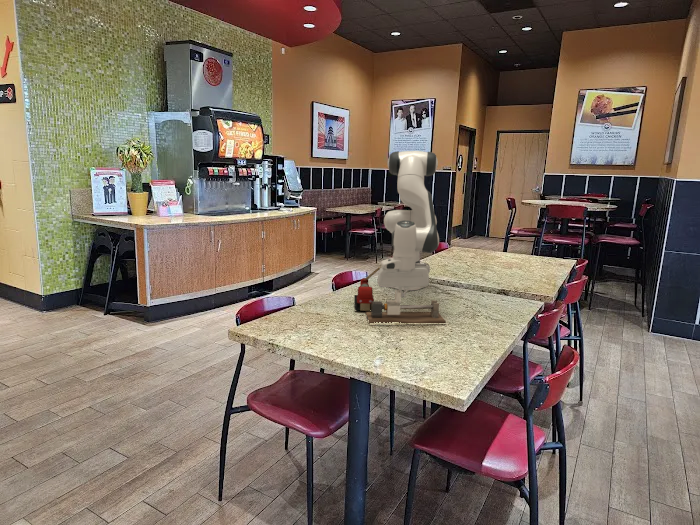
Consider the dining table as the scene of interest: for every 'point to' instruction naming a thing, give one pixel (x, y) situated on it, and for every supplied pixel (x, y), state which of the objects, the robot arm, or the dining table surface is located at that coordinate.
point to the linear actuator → (411, 316)
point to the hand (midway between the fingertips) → (402, 297)
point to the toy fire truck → (364, 294)
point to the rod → (378, 306)
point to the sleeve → (394, 304)
